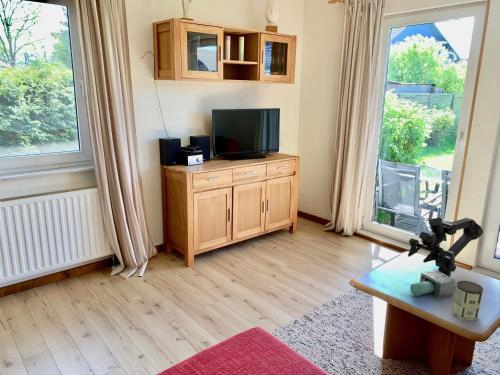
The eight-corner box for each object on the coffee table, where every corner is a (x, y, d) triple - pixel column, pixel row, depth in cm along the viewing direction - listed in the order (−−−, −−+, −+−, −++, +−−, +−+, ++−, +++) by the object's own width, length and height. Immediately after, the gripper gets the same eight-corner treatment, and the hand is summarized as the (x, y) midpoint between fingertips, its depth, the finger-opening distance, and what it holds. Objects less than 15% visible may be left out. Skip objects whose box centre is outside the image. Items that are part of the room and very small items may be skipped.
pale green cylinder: (428, 287, 189) (429, 277, 187) (437, 293, 183) (439, 282, 182) (409, 292, 184) (411, 281, 182) (418, 298, 178) (420, 287, 177)
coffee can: (464, 306, 173) (469, 279, 170) (483, 318, 164) (488, 290, 160) (446, 309, 170) (451, 281, 167) (464, 322, 161) (470, 293, 157)
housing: (433, 283, 194) (435, 269, 192) (453, 294, 183) (455, 280, 181) (418, 286, 190) (420, 272, 188) (437, 298, 179) (440, 283, 177)
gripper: (415, 223, 193) (395, 241, 189) (447, 232, 176) (426, 252, 172) (421, 239, 197) (402, 257, 193) (453, 249, 180) (433, 269, 176)
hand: (415, 258), depth 183 cm, fingers open, 9 cm apart
